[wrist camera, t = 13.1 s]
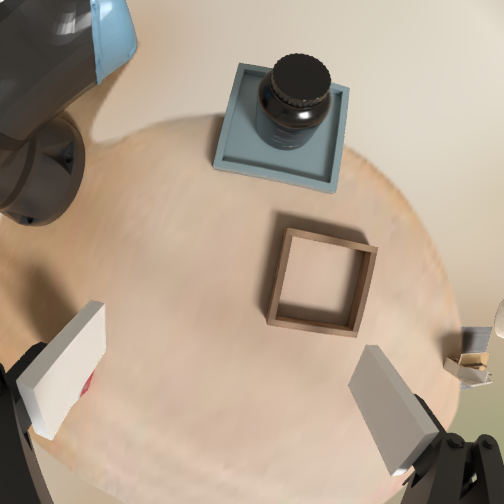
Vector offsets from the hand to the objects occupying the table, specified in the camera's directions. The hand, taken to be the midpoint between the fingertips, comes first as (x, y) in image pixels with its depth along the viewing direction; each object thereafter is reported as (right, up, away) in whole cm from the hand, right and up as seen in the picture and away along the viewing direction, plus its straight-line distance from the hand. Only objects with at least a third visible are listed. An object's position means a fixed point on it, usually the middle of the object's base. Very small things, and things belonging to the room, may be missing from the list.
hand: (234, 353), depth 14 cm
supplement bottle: (+4, +19, +19) cm, 27 cm away
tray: (+5, +19, +19) cm, 28 cm away
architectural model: (+32, -12, +22) cm, 41 cm away
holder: (+9, +1, +20) cm, 22 cm away
